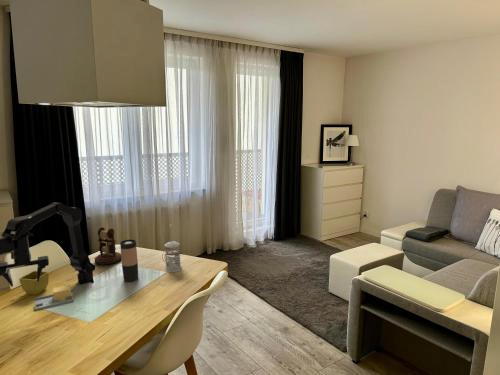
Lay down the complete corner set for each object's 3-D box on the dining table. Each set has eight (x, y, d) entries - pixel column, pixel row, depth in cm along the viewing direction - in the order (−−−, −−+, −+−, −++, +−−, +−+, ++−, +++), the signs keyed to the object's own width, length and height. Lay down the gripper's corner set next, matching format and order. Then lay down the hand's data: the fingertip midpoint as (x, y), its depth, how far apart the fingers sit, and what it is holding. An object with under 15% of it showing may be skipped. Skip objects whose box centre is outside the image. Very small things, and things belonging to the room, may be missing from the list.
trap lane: (72, 292, 164) (72, 289, 164) (74, 302, 155) (73, 299, 154) (35, 300, 157) (34, 297, 156) (34, 312, 147) (34, 309, 147)
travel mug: (119, 281, 175) (116, 243, 172) (130, 275, 182) (127, 238, 179) (131, 283, 172) (128, 245, 169) (142, 277, 179) (139, 240, 176)
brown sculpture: (127, 258, 206) (124, 225, 202) (109, 267, 192) (106, 233, 189) (107, 255, 211) (104, 223, 207) (88, 264, 197) (85, 230, 194)
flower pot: (37, 298, 159) (34, 279, 158) (20, 296, 161) (18, 278, 159) (51, 289, 168) (49, 271, 166) (36, 287, 169) (33, 270, 168)
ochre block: (70, 292, 163) (69, 284, 162) (71, 297, 158) (70, 289, 158) (53, 296, 159) (52, 288, 158) (54, 301, 155) (53, 292, 154)
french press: (186, 267, 191) (184, 223, 187) (171, 274, 182) (168, 229, 177) (173, 263, 197) (170, 221, 192) (157, 270, 187) (154, 226, 182)
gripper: (47, 239, 155) (50, 272, 158) (-4, 246, 146) (1, 281, 149) (46, 246, 145) (50, 281, 148) (-8, 255, 136) (-3, 292, 139)
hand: (25, 283), depth 146 cm, fingers open, 9 cm apart
